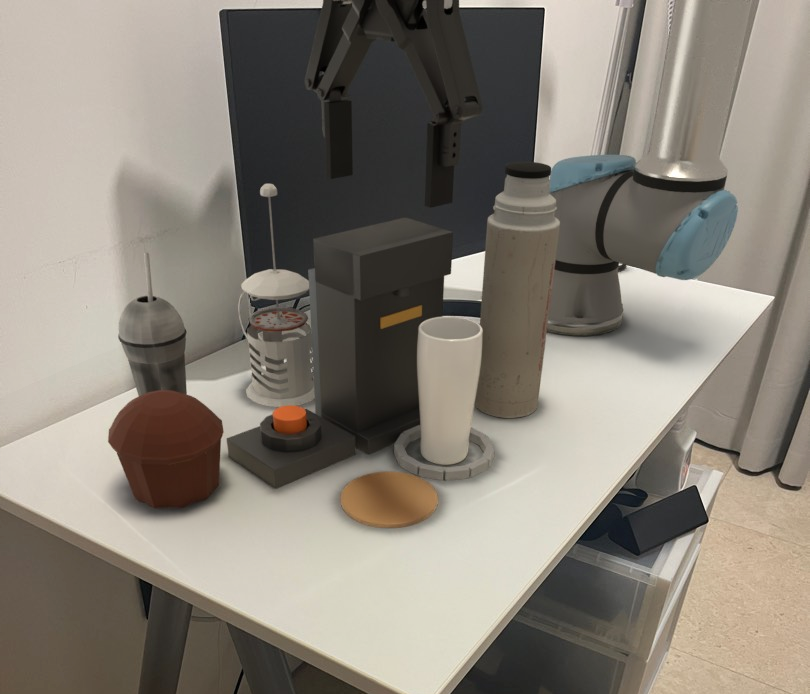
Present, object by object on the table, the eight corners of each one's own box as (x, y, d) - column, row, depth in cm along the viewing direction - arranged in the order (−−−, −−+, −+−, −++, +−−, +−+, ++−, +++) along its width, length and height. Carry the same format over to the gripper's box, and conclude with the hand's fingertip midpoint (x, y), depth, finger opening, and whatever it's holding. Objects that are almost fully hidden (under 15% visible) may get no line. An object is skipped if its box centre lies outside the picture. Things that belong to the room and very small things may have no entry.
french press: (279, 416, 100) (262, 199, 86) (220, 386, 107) (194, 180, 92) (338, 390, 106) (331, 184, 92) (279, 364, 113) (263, 167, 98)
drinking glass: (429, 475, 90) (434, 344, 81) (404, 446, 95) (407, 320, 86) (484, 463, 92) (495, 335, 83) (457, 436, 97) (465, 312, 88)
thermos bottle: (539, 393, 107) (568, 159, 90) (535, 421, 100) (565, 175, 84) (478, 386, 108) (495, 154, 92) (470, 414, 102) (487, 170, 85)
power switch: (307, 426, 98) (305, 395, 96) (356, 455, 93) (355, 423, 91) (228, 457, 92) (224, 425, 90) (275, 489, 87) (273, 456, 85)
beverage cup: (123, 435, 96) (87, 261, 84) (159, 408, 101) (130, 242, 90) (177, 447, 94) (149, 271, 82) (211, 419, 99) (189, 250, 88)
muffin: (250, 493, 86) (241, 406, 81) (150, 530, 81) (133, 440, 75) (196, 447, 94) (184, 365, 88) (102, 479, 88) (82, 393, 82)
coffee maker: (389, 390, 107) (390, 212, 94) (518, 454, 94) (540, 259, 81) (308, 420, 100) (298, 233, 87) (437, 495, 87) (447, 288, 74)
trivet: (392, 466, 91) (392, 461, 91) (457, 503, 86) (457, 498, 85) (321, 498, 86) (320, 493, 85) (385, 541, 80) (385, 536, 80)
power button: (293, 416, 93) (292, 402, 92) (313, 427, 91) (312, 413, 90) (267, 426, 91) (266, 411, 90) (286, 438, 89) (285, 423, 88)
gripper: (255, -100, 69) (273, 171, 82) (473, -106, 55) (455, 225, 67) (325, -96, 74) (332, 161, 86) (545, -100, 59) (515, 210, 71)
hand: (386, 190), depth 77 cm, fingers open, 13 cm apart
